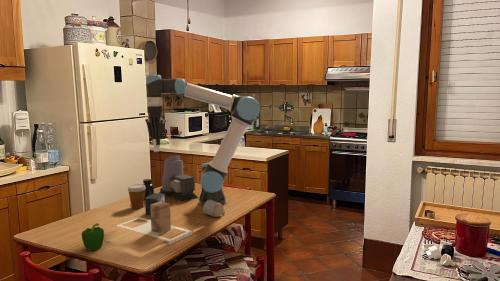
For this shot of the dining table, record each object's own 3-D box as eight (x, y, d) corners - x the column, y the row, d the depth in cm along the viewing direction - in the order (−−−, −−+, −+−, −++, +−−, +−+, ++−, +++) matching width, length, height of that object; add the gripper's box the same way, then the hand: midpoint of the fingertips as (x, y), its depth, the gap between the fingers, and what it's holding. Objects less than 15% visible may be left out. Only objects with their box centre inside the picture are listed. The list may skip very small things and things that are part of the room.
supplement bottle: (139, 199, 223) (138, 180, 222) (149, 197, 229) (148, 177, 227) (147, 201, 219) (146, 181, 218) (156, 199, 224) (155, 179, 223)
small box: (157, 219, 189) (156, 198, 188) (145, 218, 191) (144, 198, 189) (166, 212, 200) (165, 193, 198) (154, 211, 201) (153, 192, 200)
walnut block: (151, 230, 169) (150, 204, 168) (161, 226, 174) (160, 201, 173) (160, 233, 166) (159, 207, 164) (170, 229, 171) (169, 203, 169)
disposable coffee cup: (133, 211, 202) (131, 189, 201) (125, 207, 209) (124, 186, 208) (149, 207, 208) (148, 186, 207) (141, 203, 216) (140, 183, 214)
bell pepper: (82, 254, 149) (80, 229, 148) (82, 246, 157) (81, 223, 155) (105, 250, 153) (104, 226, 151) (104, 242, 160) (103, 220, 159)
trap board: (116, 228, 177) (115, 225, 176) (139, 220, 188) (139, 217, 188) (169, 244, 157) (169, 241, 157) (192, 234, 169) (192, 230, 169)
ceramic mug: (213, 219, 188) (213, 204, 187) (202, 215, 194) (202, 201, 193) (228, 214, 196) (228, 199, 195) (218, 211, 202) (217, 197, 201)
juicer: (154, 192, 240) (153, 154, 237) (177, 188, 250) (175, 151, 247) (178, 202, 217) (176, 160, 214) (202, 197, 227) (201, 157, 224)
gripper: (140, 105, 194) (142, 151, 197) (158, 106, 187) (160, 153, 190) (151, 105, 200) (153, 149, 203) (169, 105, 193) (171, 151, 196)
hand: (156, 151), depth 196 cm, fingers closed
